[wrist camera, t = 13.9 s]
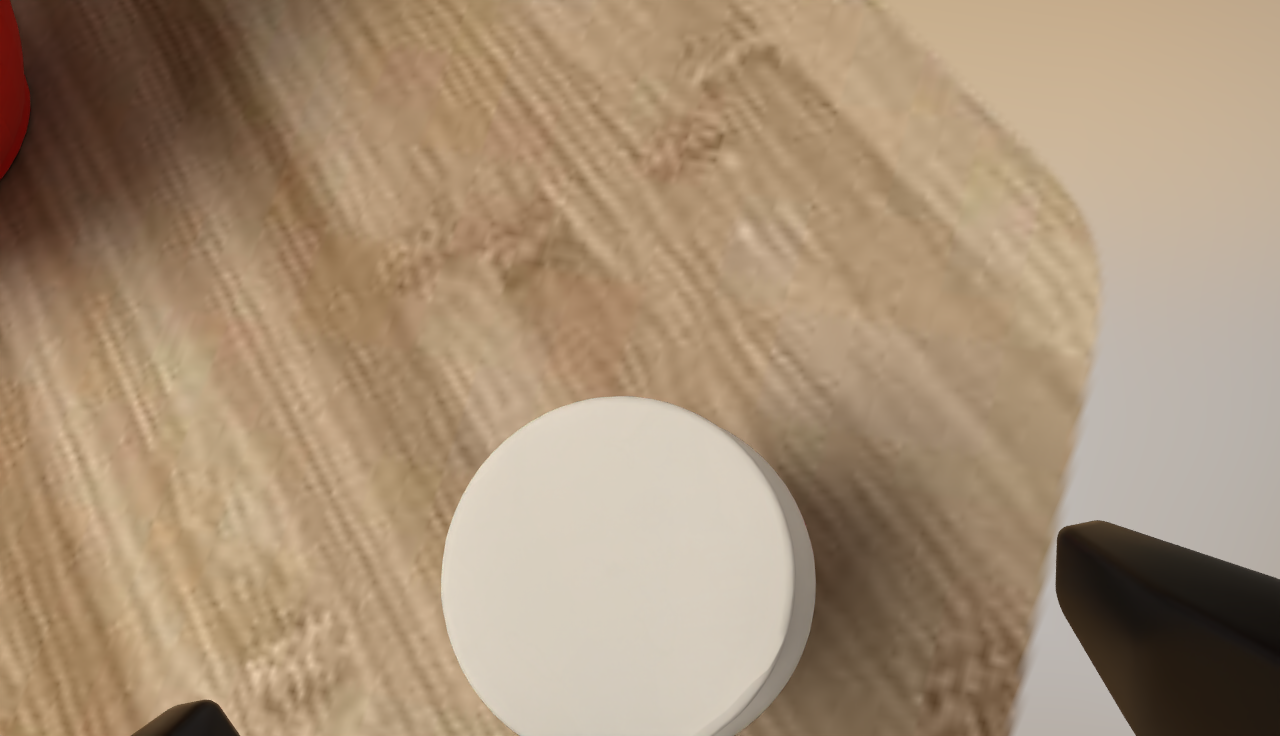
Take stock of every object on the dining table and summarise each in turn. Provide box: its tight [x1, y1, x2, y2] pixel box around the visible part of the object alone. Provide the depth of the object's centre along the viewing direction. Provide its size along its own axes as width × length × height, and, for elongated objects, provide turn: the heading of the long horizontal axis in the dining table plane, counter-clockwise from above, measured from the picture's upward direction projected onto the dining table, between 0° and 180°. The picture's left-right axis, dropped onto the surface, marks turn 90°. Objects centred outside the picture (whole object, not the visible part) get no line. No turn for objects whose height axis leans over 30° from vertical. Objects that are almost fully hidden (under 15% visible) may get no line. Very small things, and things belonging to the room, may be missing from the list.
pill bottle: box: [441, 396, 816, 736], centre depth 13 cm, size 5×5×8 cm
